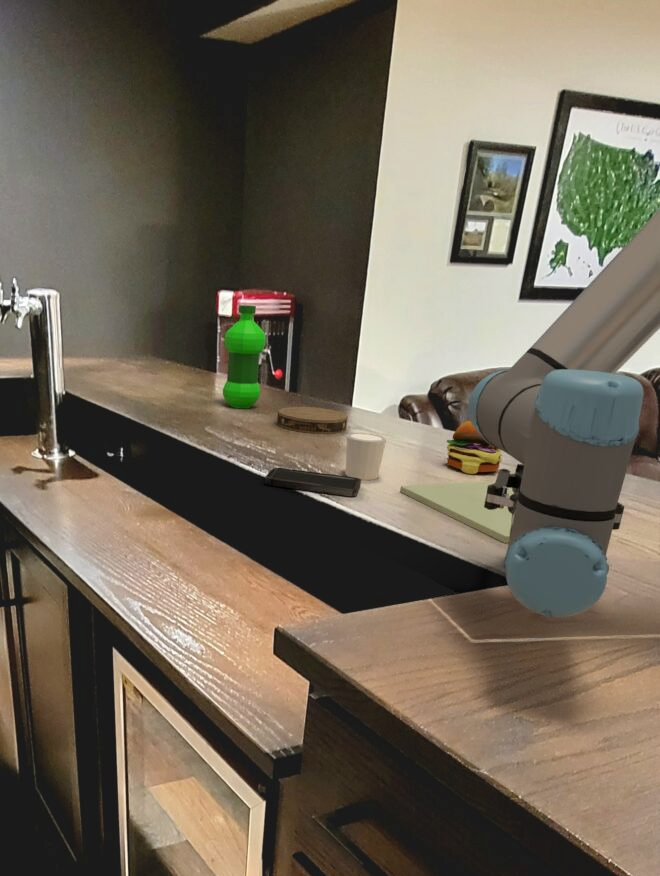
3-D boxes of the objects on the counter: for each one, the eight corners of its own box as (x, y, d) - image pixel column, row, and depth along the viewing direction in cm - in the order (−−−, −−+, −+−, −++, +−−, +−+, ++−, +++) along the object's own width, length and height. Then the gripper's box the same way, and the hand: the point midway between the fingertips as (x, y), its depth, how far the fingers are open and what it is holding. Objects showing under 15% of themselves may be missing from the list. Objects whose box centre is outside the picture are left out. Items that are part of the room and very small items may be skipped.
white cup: (333, 473, 127) (338, 434, 125) (357, 468, 132) (362, 430, 130) (366, 483, 123) (371, 443, 120) (389, 477, 127) (394, 438, 125)
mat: (601, 533, 104) (603, 526, 104) (504, 543, 98) (505, 536, 98) (486, 486, 125) (487, 480, 125) (399, 491, 119) (400, 486, 119)
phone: (274, 466, 125) (361, 478, 121) (273, 473, 125) (361, 484, 121) (263, 478, 117) (356, 490, 113) (263, 484, 118) (355, 497, 114)
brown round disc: (316, 417, 177) (317, 405, 176) (360, 431, 164) (362, 418, 163) (263, 421, 169) (264, 408, 168) (305, 435, 156) (307, 422, 155)
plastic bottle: (268, 407, 186) (276, 307, 178) (241, 411, 179) (249, 307, 171) (239, 401, 193) (246, 304, 185) (212, 405, 185) (218, 304, 177)
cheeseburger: (439, 469, 134) (448, 416, 133) (445, 471, 143) (453, 421, 142) (497, 477, 130) (507, 422, 129) (499, 478, 140) (508, 427, 139)
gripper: (453, 544, 75) (472, 489, 95) (644, 579, 68) (620, 512, 89) (466, 474, 72) (482, 433, 93) (664, 504, 66) (635, 453, 86)
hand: (550, 472), depth 91 cm, fingers closed on bottle, 4 cm apart
